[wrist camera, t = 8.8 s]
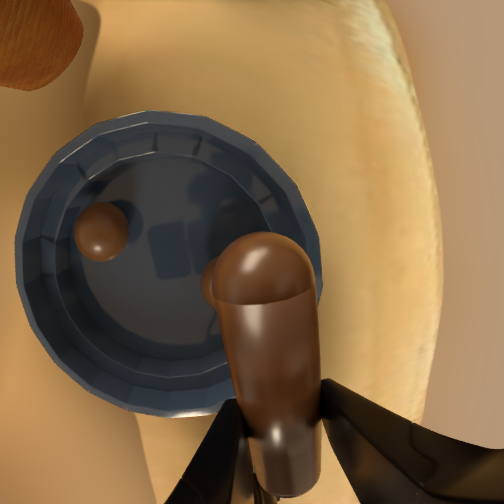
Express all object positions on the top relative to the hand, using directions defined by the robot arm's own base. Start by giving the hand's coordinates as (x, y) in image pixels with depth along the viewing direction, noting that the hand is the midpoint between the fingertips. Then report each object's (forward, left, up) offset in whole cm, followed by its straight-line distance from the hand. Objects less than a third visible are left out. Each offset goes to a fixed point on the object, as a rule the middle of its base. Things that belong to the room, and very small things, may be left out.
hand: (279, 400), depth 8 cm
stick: (0, 0, -1) cm, 1 cm away
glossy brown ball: (+6, +7, -9) cm, 13 cm away
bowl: (+2, +4, -10) cm, 11 cm away
